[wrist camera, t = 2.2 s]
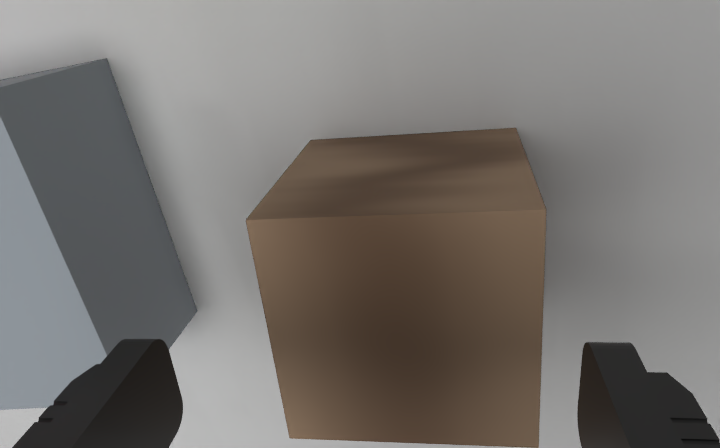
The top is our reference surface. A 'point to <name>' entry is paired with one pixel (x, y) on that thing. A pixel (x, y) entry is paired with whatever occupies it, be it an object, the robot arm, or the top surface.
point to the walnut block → (406, 289)
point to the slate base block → (77, 235)
